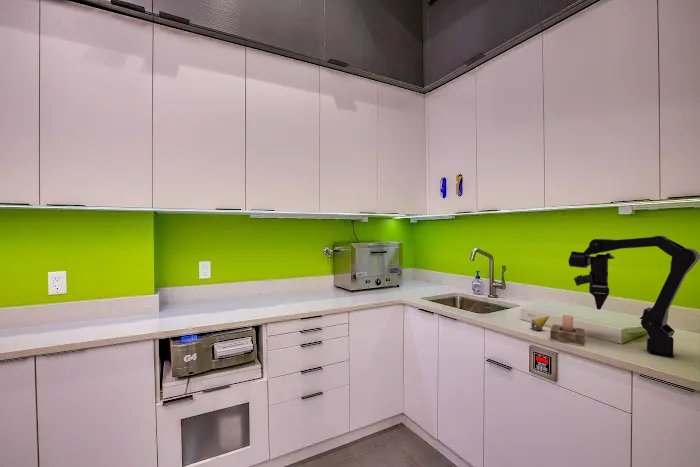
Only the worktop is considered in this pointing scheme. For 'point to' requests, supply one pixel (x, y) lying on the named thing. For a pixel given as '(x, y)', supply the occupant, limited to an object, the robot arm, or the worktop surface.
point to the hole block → (567, 335)
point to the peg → (567, 323)
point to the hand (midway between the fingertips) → (598, 307)
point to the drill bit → (539, 323)
